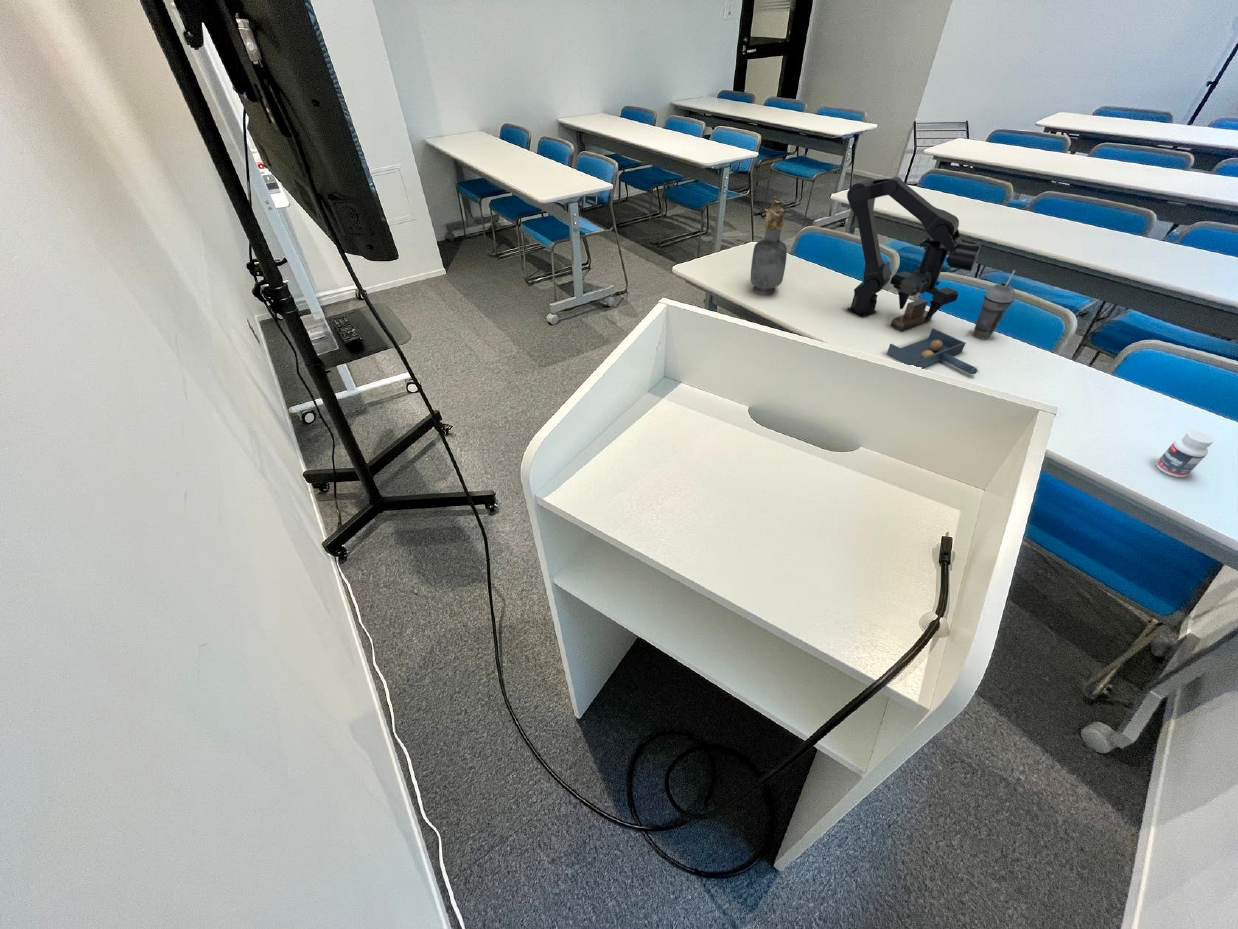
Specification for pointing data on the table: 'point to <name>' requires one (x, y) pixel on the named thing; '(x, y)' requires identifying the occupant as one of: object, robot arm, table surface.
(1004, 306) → the beverage cup
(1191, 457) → the pill bottle
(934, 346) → the brown rounded piece
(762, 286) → the grey tall bottle-shaped piece
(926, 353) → the light brown ball
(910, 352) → the dustpan
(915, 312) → the brush
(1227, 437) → the table surface
